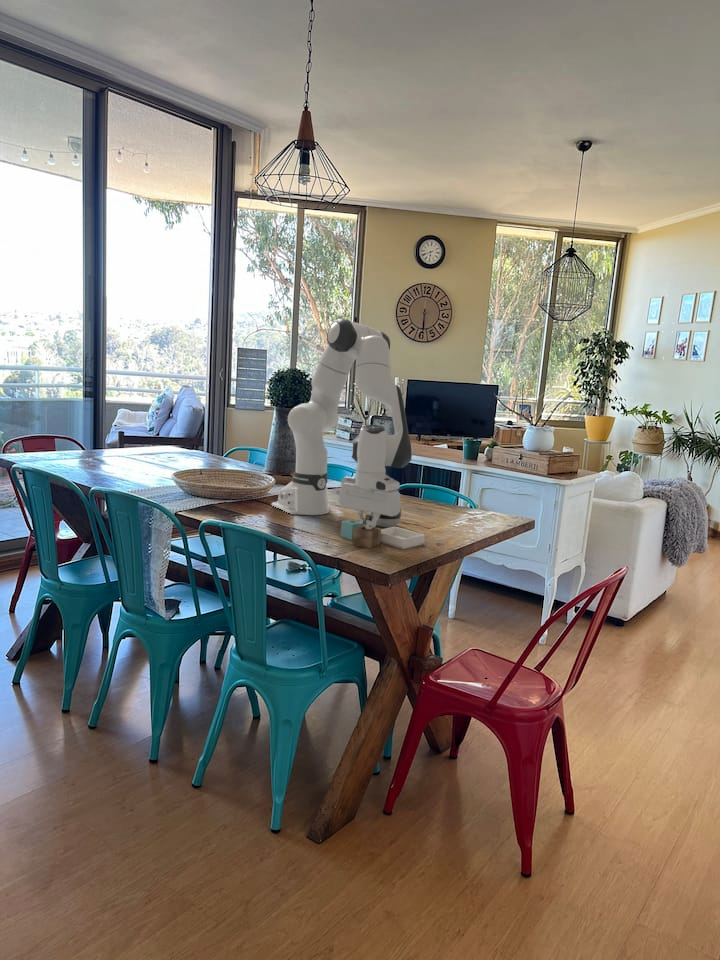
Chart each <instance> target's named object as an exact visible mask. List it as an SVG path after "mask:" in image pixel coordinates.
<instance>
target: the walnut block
mask: <svg viewBox="0 0 720 960" xmlns="http://www.w3.org/2000/svg"><path fill="white" fill-rule="evenodd" d="M381 529H382V527H378V526H377V527H372V530H365V525H363V526H359V527H356V528H354V531H353V540H352V545H354V546H359V547H362V548H367V549H371V548H374V547H377V546H380V545H381V543H380V538H381Z"/></svg>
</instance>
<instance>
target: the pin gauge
mask: <svg viewBox="0 0 720 960" xmlns="http://www.w3.org/2000/svg"><path fill="white" fill-rule="evenodd" d="M364 518H365V519H366V522H365V530H372V527H370V526H369V521H371V520H372V519H373V515H371V514H365V517H364Z"/></svg>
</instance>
